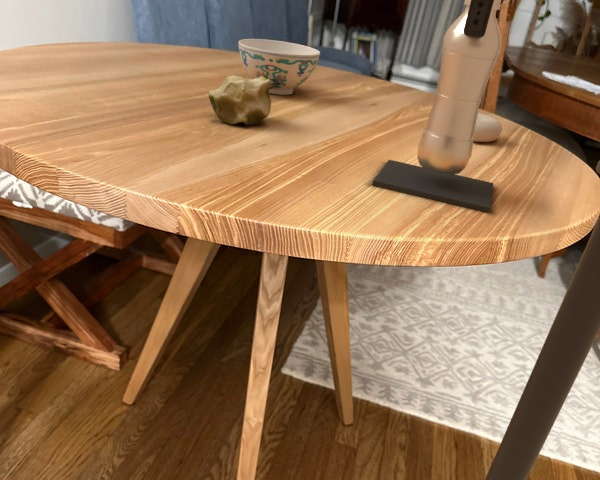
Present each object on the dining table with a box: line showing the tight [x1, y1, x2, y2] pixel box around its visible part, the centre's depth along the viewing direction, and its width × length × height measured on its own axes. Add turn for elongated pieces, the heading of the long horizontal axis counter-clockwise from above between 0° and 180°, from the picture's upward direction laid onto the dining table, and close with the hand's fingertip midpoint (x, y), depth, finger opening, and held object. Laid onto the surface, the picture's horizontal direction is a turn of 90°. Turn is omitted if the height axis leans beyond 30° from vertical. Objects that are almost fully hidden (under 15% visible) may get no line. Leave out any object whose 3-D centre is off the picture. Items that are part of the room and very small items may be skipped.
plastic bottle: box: [416, 0, 503, 175], centre depth 65 cm, size 6×7×20 cm
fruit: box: [208, 74, 279, 126], centre depth 84 cm, size 9×9×8 cm
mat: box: [371, 159, 495, 213], centre depth 71 cm, size 14×10×1 cm
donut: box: [473, 112, 503, 143], centre depth 95 cm, size 10×4×10 cm
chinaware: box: [237, 38, 321, 96], centre depth 105 cm, size 15×15×8 cm
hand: (475, 33), depth 62 cm, fingers closed on plastic bottle, 6 cm apart
